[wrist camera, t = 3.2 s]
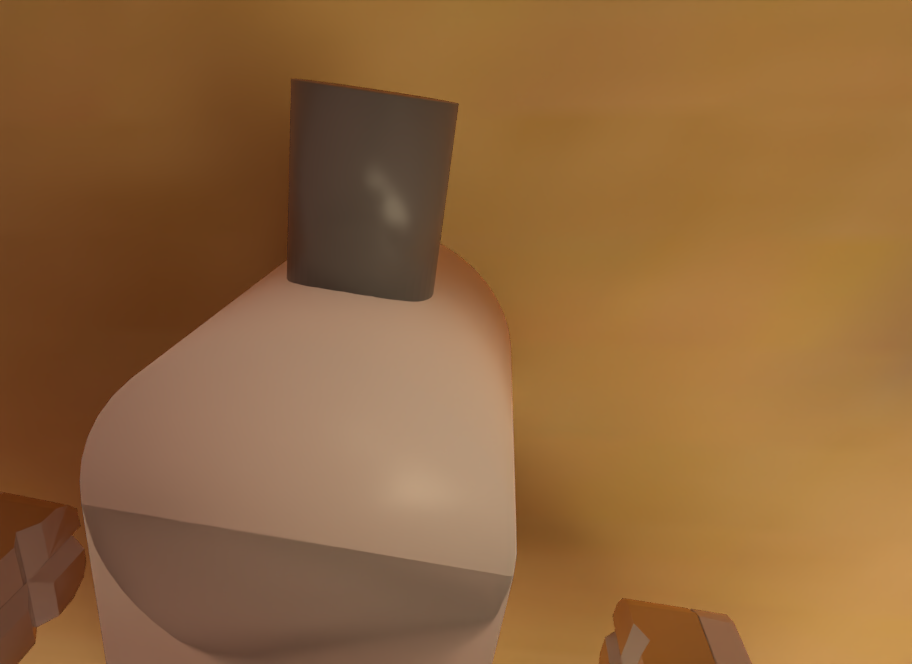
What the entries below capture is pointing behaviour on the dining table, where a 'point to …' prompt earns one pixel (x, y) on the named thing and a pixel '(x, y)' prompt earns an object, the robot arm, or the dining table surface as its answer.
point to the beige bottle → (321, 430)
